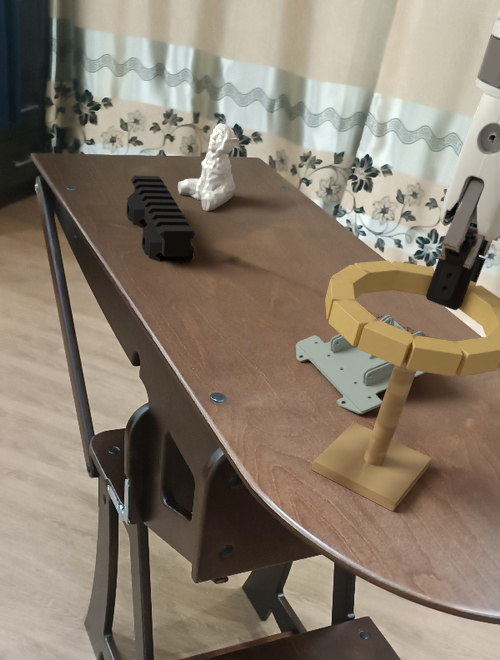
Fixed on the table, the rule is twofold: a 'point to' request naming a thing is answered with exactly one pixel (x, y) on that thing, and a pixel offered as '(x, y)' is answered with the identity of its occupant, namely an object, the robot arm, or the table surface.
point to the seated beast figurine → (214, 171)
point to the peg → (376, 451)
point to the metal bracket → (350, 369)
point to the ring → (398, 344)
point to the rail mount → (159, 219)
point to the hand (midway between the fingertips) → (448, 297)
